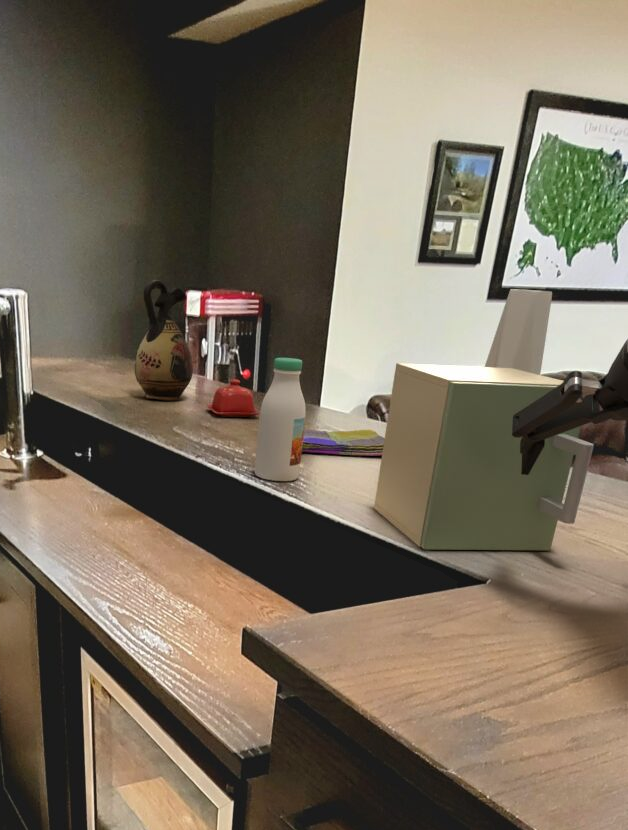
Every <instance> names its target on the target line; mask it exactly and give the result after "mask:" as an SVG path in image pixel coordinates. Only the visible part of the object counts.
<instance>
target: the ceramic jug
mask: <svg viewBox="0 0 628 830" xmlns="http://www.w3.org/2000/svg"><path fill="white" fill-rule="evenodd" d="M156 289H157V290H160V294H159V296H158V297H157V299H156V300H155V302H154V303H153V299H152V291H153V290H156ZM186 300H187V295H186V293H185V291H183V290H182V289H181V288H180V287H179V286H175V287H174V288H173V287H170V288H169V289H168V286H167V284H165V282H163V281H161V280H159V279H151V280H149V281H148V282H146V283H145V286H144V288H143V301H144V305H145V309H146V312H147V318H148V320H149V321H148V323H149V326H148V331H147V332H146V334H145V335H144V337H143V339H142V340H141V342H140V344H139V347H138V348H137V352H136V355H135V360H134V376H135V380H136V382H137V383H138V385H139V386H140V387H141V390H142V391H143V392H144V393H145V398H146V399H154V400H161V401H181V396H182V395H183V393H184V392H185V390H186V389H187V388H188V386H189V384H190V383H191V380H192V378H193V372H194V365H193V357H192V354H191V350H190V347H189V345H188V343H187V341H186V339H185V337H184V335H183V333H182V331H181V330H180V327H179V326H178V324H177V323H176V321H175V320H174V318H173V313H172V309H173V308H174V307H175V306H177V305H179V304H181V303H183V302H185V301H186ZM154 307H157V308H158V313H157V315H156V312H155V309H154ZM136 401H137V400H136Z"/></svg>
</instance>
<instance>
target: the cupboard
mask: <svg viewBox="0 0 628 830" xmlns="http://www.w3.org/2000/svg"><path fill="white" fill-rule="evenodd" d="M563 381H564V380H562V379H557V378H555V377H550V376H545V375H541V374H540V375H538V374H534V373H530V372H526V371H521V370H517V369H513V368H495V367H485V366H472V365H450V364H449V365H448V364H447V365H446V364H429V363H428V364H426V363H425V364H423V363H405V362H404V363H403V362H396V363H395V370H394V375H393V383H392V389H391V394H390V395H391V396H390V402H389V408H388V414H387V421H386V427H385V433H384V438H385V440H384V446H383V453H382V456H381V460H380V466H379V473H378V478H377V479H378V480H377V485H376V486H377V487H376V492H375V500H374V506H373V509H374V510H375V511H376V512H378V513H379V514H380V515H381V516H382V517H383V518H385V519H386V520H387V521H388V522H389V523H390V524H392V525H393V527H395V528H396V529H398V530H399V531H400V532H401V533H402V534H403V535H405V537H407V538H408V539H409V540H411V541H412V542H413V543H414V544H415V545H417V546H418V547H419V548H422V547H421V542H422V536H423V531H424V525H425V520H426V514H427V508H428V503H429V497H430V492H431V486H432V481H433V475H434V469H435V464H436V458H437V453H438V447H439V441H440V436H441V430H442V425H443V419H444V414H445V408H446V402H447V397H448V391H449V386H450V382H471V383H494V384H518V385H542V386H559V385H561V384H562V383H563Z"/></svg>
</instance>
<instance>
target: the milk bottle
mask: <svg viewBox="0 0 628 830" xmlns="http://www.w3.org/2000/svg"><path fill="white" fill-rule="evenodd" d="M302 369H303V360H302V359H299V358H294V357H292V358H291V357H275V358H274V360H273V372H274V373H273V379H272V381H271V384H270V386H269V388H268V390H267V392H266V393H265V395H264V397H263V399H262V403H261V406H260V411H259V412H260V414H259V419H258V428H257V436H256V437H257V438H256V447H255V448H256V449H255V457H254V469H253V471H254V474H255V476H257V478H261V479H263V480H267V481H274V482H291V481H295V480H297V479H298V478H299V475H300V470H301V461H302V453H303V452H302V445H303V436H304V429H305V427H306V412H307V410H306V409H307V408H306V402H305V401H306V400H305V398H304V395H303V392H302V388H301V383H300V375H301V374H302Z"/></svg>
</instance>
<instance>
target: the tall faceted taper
mask: <svg viewBox="0 0 628 830" xmlns="http://www.w3.org/2000/svg"><path fill="white" fill-rule="evenodd" d="M552 298H553V291H550V290H535V289H534V290H532V289H519V288H517V289H516V288H510V290H509V292H508V295H507V298H506V301H505V304H504V306H503V309H502V312H501V315H500V319H499V322H498V325H497V328H496V331H495V334H494V337H493V340H492V343H491V345H490V349H489V352H488V356H487V358H486V361H485V364H484V367H495V368H513V369H517V370H521V371H526V372H530V373H534V374H538V375H541V372H542V367H543V359H544V352H545V346H546V341H547V340H546V339H547V333H548V332H547V331H548V325H549V318H550V314H551V313H550V312H551V305H552Z"/></svg>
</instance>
